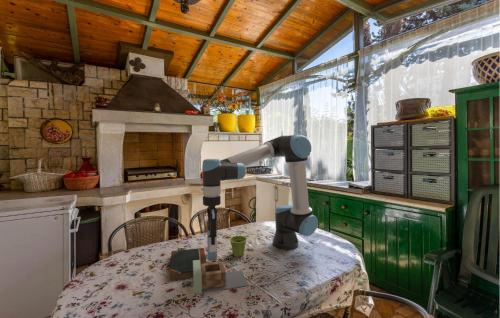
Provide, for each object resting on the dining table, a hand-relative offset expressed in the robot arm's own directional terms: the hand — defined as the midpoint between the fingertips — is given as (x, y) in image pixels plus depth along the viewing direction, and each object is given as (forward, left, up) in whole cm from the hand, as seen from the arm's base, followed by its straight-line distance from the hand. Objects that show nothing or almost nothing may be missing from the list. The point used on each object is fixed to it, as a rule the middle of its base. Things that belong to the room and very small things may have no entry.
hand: (212, 249), depth 107 cm
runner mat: (-5, 0, -15) cm, 16 cm away
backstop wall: (+7, 0, -15) cm, 16 cm away
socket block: (0, 0, -15) cm, 15 cm away
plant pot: (-16, -24, -15) cm, 33 cm away
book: (+10, -19, -16) cm, 26 cm away
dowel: (0, 0, -4) cm, 4 cm away
